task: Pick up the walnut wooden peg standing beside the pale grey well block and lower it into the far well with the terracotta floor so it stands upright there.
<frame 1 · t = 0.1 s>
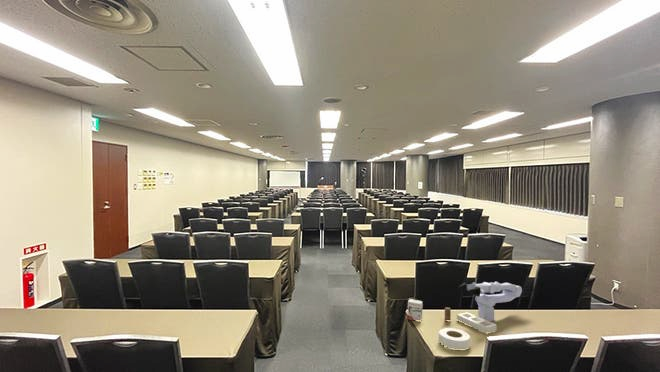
hand: (463, 290, 199), 22 cm above the table, tool horizontal, fingers open, 7 cm apart
ink box: (414, 319, 207), on the table
well block: (475, 326, 198), on the table
walnut peg: (447, 321, 205), on the table
roll of tape: (454, 344, 175), on the table
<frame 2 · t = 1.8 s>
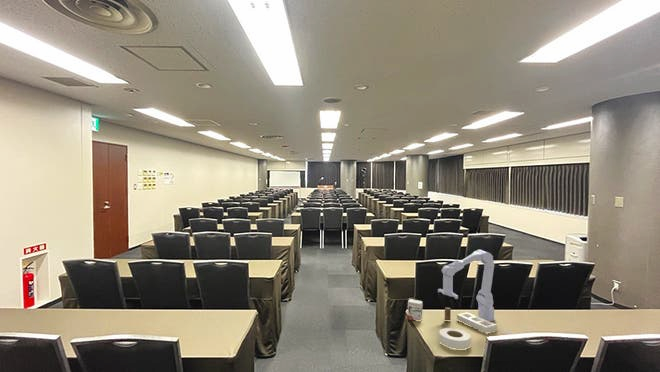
hand: (447, 306, 205), 9 cm above the table, tool pointing down, fingers open, 7 cm apart
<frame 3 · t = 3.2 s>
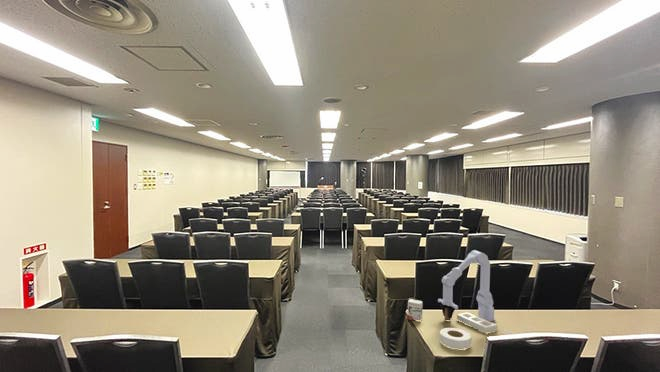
hand: (447, 316, 205), 3 cm above the table, tool pointing down, fingers closed on walnut peg, 3 cm apart
walnut peg: (447, 321, 205), on the table, touching gripper
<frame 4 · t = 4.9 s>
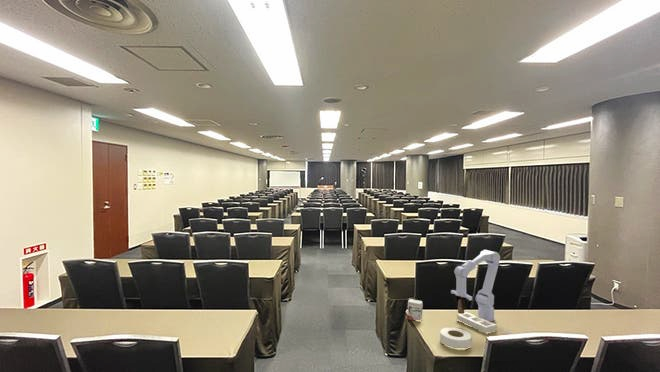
hand: (461, 308, 200), 10 cm above the table, tool pointing down, fingers closed on walnut peg, 3 cm apart
walnut peg: (461, 312, 200), point 7 cm above the table, touching gripper
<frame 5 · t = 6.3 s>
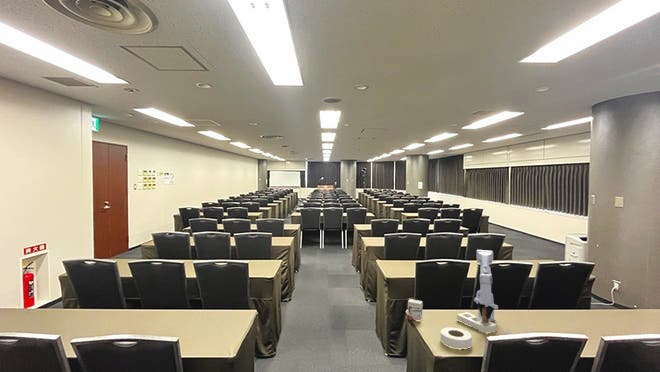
hand: (485, 317, 192), 8 cm above the table, tool pointing down, fingers closed on walnut peg, 3 cm apart
walnut peg: (485, 321, 192), point 5 cm above the table, touching gripper
when the fingers open (6 cm above the table, at t = 7.1 s): walnut peg drops 2 cm, resting on well block.
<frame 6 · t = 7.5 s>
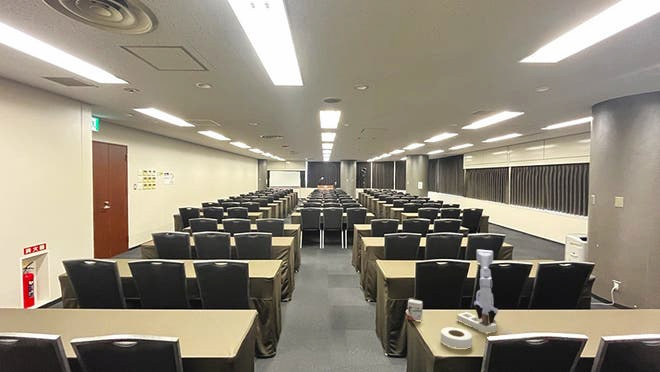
hand: (485, 320, 192), 6 cm above the table, tool pointing down, fingers open, 7 cm apart
walnut peg: (485, 328, 192), point 1 cm above the table, touching well block
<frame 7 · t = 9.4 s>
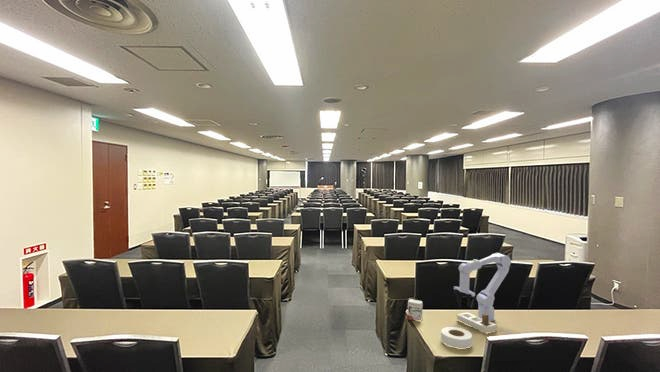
hand: (463, 304, 206), 10 cm above the table, tool pointing down, fingers open, 7 cm apart
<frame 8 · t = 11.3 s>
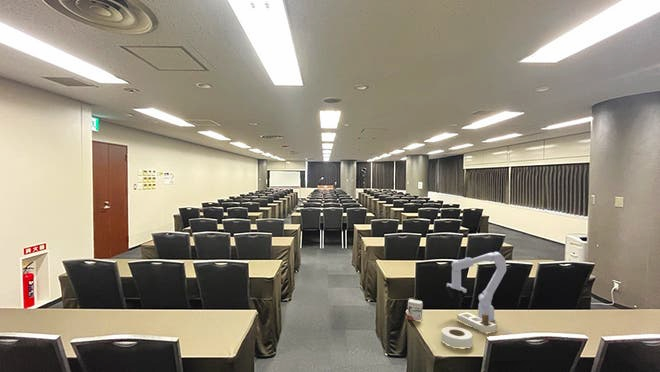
hand: (456, 300, 213), 10 cm above the table, tool pointing down, fingers open, 7 cm apart
at the end: walnut peg 0.2 cm from the target spot, point 1.2 cm above the table; walnut peg tilted 0°; the gripper is holding nothing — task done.
